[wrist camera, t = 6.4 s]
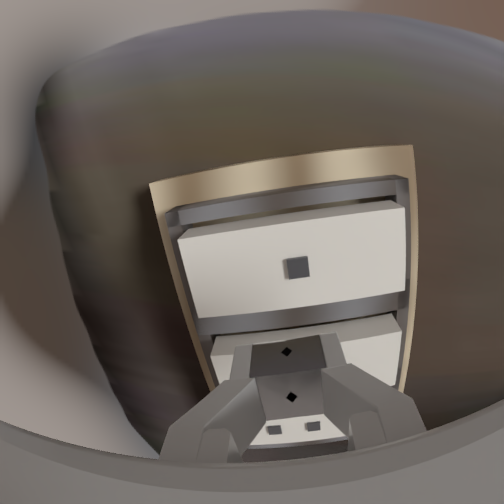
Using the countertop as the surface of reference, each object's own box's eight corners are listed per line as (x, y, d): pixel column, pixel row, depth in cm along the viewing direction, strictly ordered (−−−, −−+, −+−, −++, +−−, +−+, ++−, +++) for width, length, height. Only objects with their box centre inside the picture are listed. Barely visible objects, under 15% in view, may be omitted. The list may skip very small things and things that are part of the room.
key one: (390, 200, 15) (406, 208, 13) (392, 275, 16) (406, 292, 14) (188, 228, 16) (176, 241, 14) (206, 300, 18) (197, 320, 16)
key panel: (397, 144, 18) (427, 145, 14) (390, 404, 25) (401, 437, 21) (163, 179, 20) (135, 188, 16) (233, 423, 27) (227, 458, 23)
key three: (379, 378, 21) (386, 397, 19) (375, 412, 22) (380, 431, 20) (240, 395, 22) (237, 415, 20) (250, 427, 24) (248, 446, 22)
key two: (391, 313, 17) (403, 332, 15) (387, 366, 19) (395, 387, 16) (216, 336, 19) (209, 358, 17) (231, 385, 20) (226, 408, 18)
